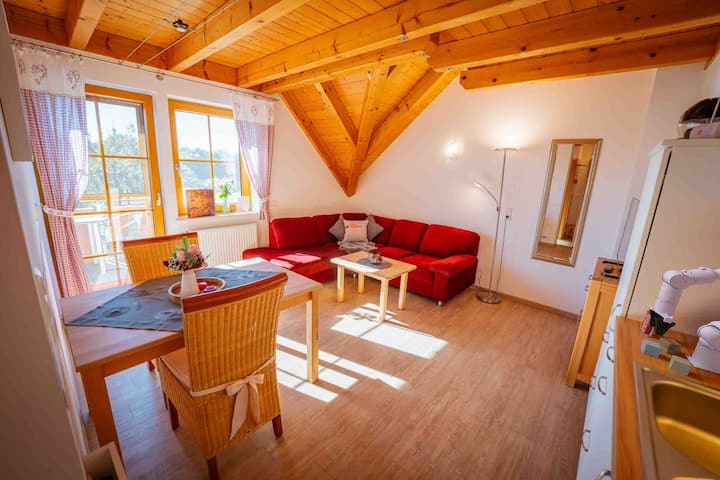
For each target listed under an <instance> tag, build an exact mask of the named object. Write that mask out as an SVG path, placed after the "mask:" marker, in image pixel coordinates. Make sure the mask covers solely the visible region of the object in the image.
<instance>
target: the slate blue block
mask: <svg viewBox="0 0 720 480" xmlns="http://www.w3.org/2000/svg"><path fill="white" fill-rule="evenodd" d="M640 350H641V353H642V354H644V355H647V356H650V357H653V358H656V359H658V358H659V357H660V355H661V354H660V353H661V351H662V350H661V347H660V345H659V342H656V341H651V340H648V339H645V338H643V341H642V343H641V346H640Z"/></svg>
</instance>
